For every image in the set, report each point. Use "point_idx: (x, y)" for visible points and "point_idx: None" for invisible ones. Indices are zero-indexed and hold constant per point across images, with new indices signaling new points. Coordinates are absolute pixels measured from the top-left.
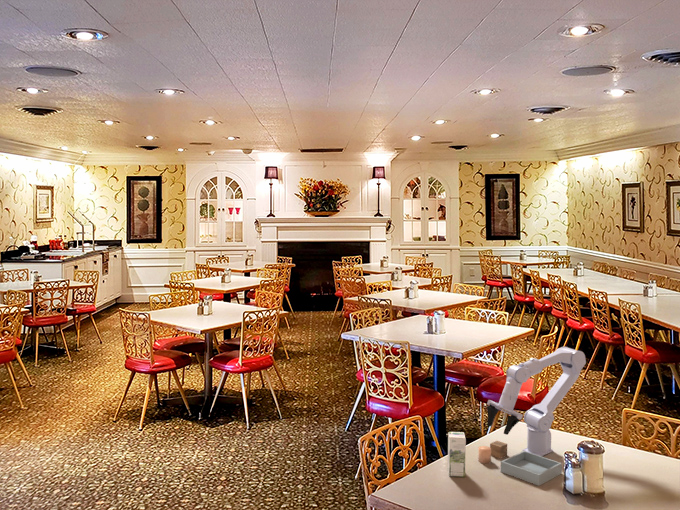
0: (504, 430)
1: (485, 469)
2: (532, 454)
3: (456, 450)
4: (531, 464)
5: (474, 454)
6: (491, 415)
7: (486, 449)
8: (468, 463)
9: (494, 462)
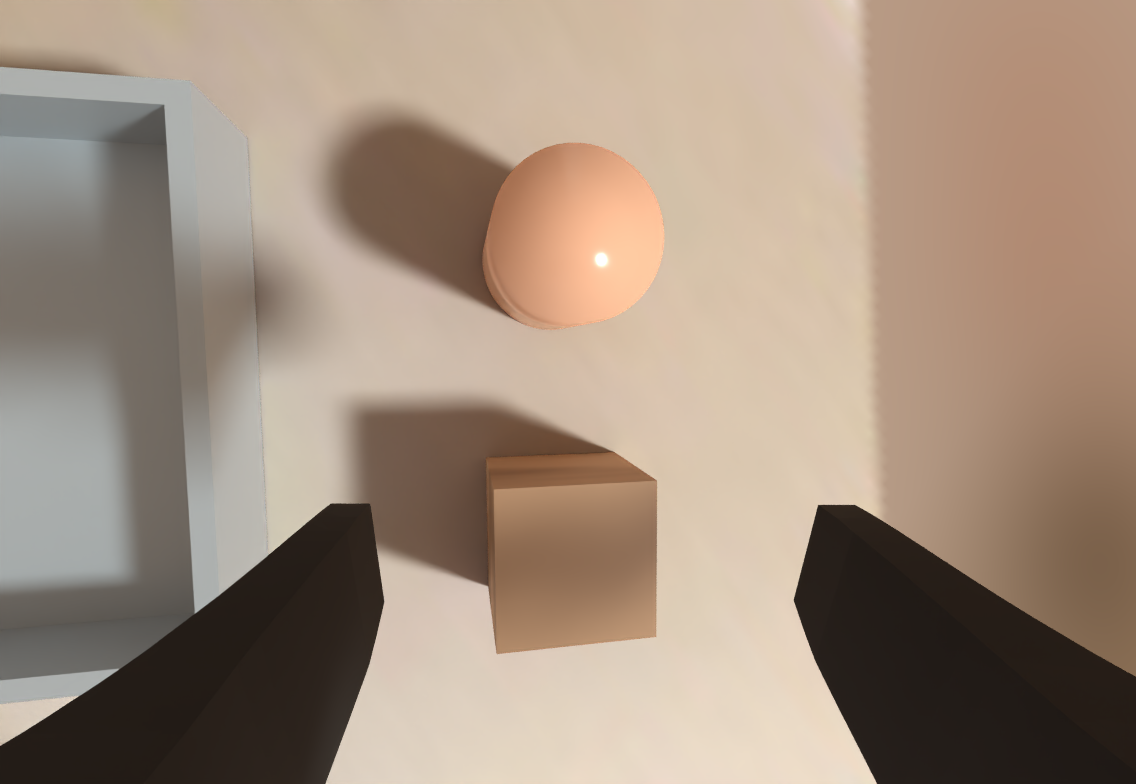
0: (335, 540)
1: (406, 72)
2: (53, 672)
3: None
4: (80, 552)
5: (723, 336)
6: (1033, 769)
7: (537, 212)
8: (627, 81)
9: (460, 317)
